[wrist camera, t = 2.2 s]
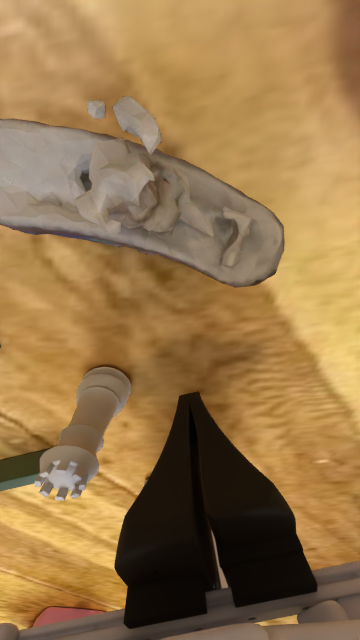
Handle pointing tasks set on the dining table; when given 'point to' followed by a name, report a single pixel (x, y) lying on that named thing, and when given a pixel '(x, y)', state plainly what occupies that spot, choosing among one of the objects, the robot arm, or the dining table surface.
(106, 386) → the rook chess piece
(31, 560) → the dining table surface
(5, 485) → the bay
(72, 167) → the flask
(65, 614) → the teakettle
